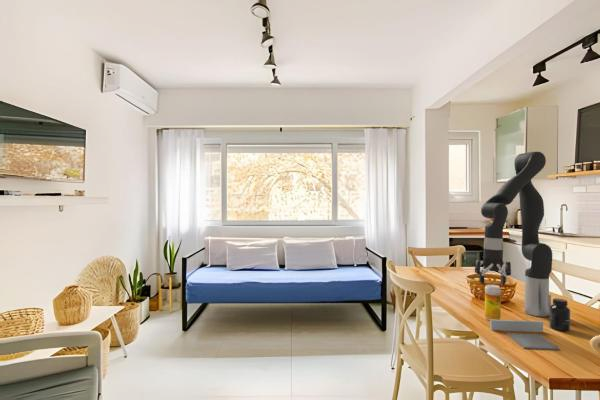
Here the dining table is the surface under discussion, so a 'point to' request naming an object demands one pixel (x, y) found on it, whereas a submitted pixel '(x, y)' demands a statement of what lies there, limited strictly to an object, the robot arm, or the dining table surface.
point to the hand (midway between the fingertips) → (492, 284)
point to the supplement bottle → (559, 315)
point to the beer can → (492, 302)
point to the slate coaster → (532, 341)
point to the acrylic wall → (516, 325)
